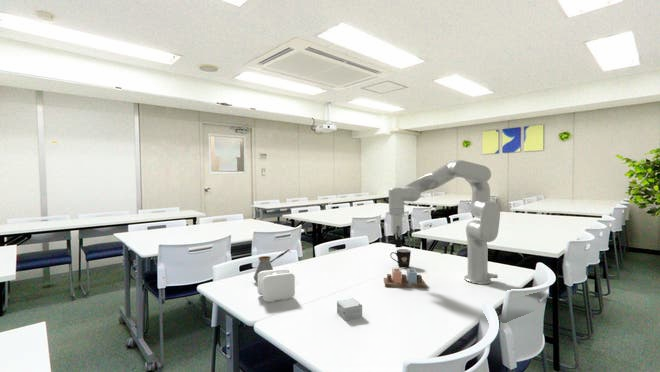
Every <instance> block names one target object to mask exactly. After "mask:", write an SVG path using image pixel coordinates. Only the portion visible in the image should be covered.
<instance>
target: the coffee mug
mask: <svg viewBox="0 0 660 372" xmlns="http://www.w3.org/2000/svg"><path fill="white" fill-rule="evenodd" d="M411 252H412V251H411V250H410V249H407V248H398V249H396V252H394V251H393V252H391V253H390V254H389V255H390V258H391V259H392V260H393V261H395V262H396V263H397V267H398V266H399V267H398V268H400V267H409V268H410V262H411V254H412V253H411ZM392 254H395V255H396V257H397V260H396V259H395V258H393V257H392Z"/></svg>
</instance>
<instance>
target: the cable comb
mask: <svg viewBox="0 0 660 372" xmlns="http://www.w3.org/2000/svg"><path fill="white" fill-rule="evenodd" d="M383 284H384V287H385V288H412V287H414V288H415V289H419V288H420V289H426V288H427V283H426V282H425V281H424V279H423V276H422V275H421V274H417V284H415V283H408V281H407V273H406V274H405V273H404V274H403V273H402V283H393V280H392V273H391V274H390V273H387V274H386V277H383Z"/></svg>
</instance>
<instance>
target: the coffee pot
mask: <svg viewBox="0 0 660 372" xmlns="http://www.w3.org/2000/svg"><path fill="white" fill-rule="evenodd" d="M287 253H290V254H291V253H292V252H291V249H287V250H284V252H282V253H280V254H279V255H277V256H276V257H275V258H273V259H271V258H272V256H270V255H269V256H267V255H266V256H264V255H263V256H259V257H258V260H259V263H258V265H257V268H256V271H255V273H254V274H253V280H254V281H255V282H258V273H259V272H261V271H267V270H274V268H273V266H272V264H271V263H273V262H274V261H275V260H277V259H279V258H281V257H282V256H284V255H285V254H287Z"/></svg>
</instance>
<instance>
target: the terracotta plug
mask: <svg viewBox="0 0 660 372" xmlns="http://www.w3.org/2000/svg"><path fill="white" fill-rule="evenodd" d="M402 274H403V272H402V270H401V268H397V267H396V268H395V267H394V268H393V267H392V268H391V276H392V280H393V283H402Z"/></svg>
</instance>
